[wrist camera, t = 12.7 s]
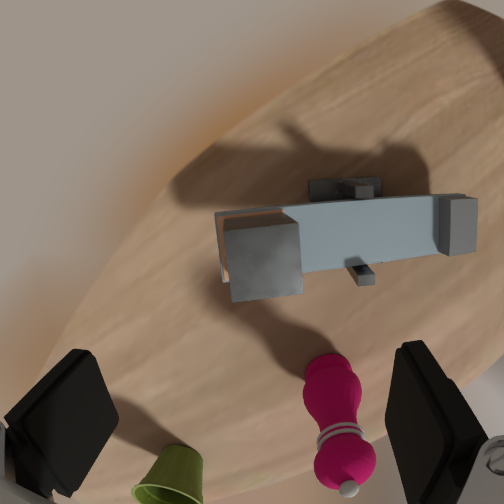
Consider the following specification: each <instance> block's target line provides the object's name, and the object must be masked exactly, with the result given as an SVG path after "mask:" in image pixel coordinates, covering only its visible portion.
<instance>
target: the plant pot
mask: <svg viewBox="0 0 504 504" xmlns="http://www.w3.org/2000/svg"><path fill="white" fill-rule="evenodd" d="M202 470H203V460H202V457H201V456H200V455H199V453H197V452H196V451H195V450H193V449H191V448H186V447H183V446H181V445H169V446H167V447H165V448H164V449H163V451H162V452H161V454H160V455H159V457H158V458H157V460H156V461H155V463H154V465H153V466H152V468H151V469H150V471H149V472H148V474H147V475H146V477H144V478H143V479H142V480H141V482H140V483H139V484H138V485H135V486H134V487H133V488H132V496H133V498H134V499H135V500H136V501H137V502H138V503H139V504H203V496H202Z"/></svg>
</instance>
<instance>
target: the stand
mask: <svg viewBox="0 0 504 504" xmlns="http://www.w3.org/2000/svg"><path fill="white" fill-rule="evenodd" d="M308 184H309V197H310V203H312V202H324V201H336V200H349V199H363V198H377V197H382V184H381V177H360V178H339V179H321V180H308ZM379 263H383V262H379ZM372 264H373V263H372ZM346 268H347V270H348V271H349V273H350V275H351V276H352V278H353V279H354V281H355V282H356V284H357V286H366V285H375V274H374V272H373V271H372V270H371V269H370V268H369V267H368V265H367V264H365V265H358V266H351V267H346Z"/></svg>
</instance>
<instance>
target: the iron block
mask: <svg viewBox="0 0 504 504" xmlns="http://www.w3.org/2000/svg"><path fill="white" fill-rule="evenodd" d="M223 236H224V244H225V252H226V260H227V268H228V276H229V283H230V291H231V298H232V303H234V302H242V301H250V300H258V299H266V298H274V297H282V296H289V295H296V294H303V280H302V263H301V248H300V234H299V223H298V222H297V221H295V220H294V219H292V218H291V217H289V216H288V215H287V214H285V213H284V212H281V213H271V214H262V215H253V216H244V217H235V218H227V219H224V223H223Z"/></svg>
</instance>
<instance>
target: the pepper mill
mask: <svg viewBox="0 0 504 504" xmlns="http://www.w3.org/2000/svg"><path fill="white" fill-rule="evenodd" d="M305 381H306V383H305V386H304V388H303V399H304V404H305V406H306V408H307V410H308V412H309V414H310V415H311V416H312V417H313V418H314V419H315V421H316V422H317V424H318V426H319V428H320V432H321V433H320V434H319V436H318V438H317V445H318V446H317V450H318V453H317V455H316V457H315V460H314V472H315V474H316V477H317V479H318V480H319V481H320V482H321V483H322V484H323V485H324V486H326V487H328V488H331V489H337V490H339V492H340V494H341V495H342V496H343V497H346V498H350V497H353V496H355V495H356V494H357V493H358V491H359V485H361V484H362V483H364V482H365V481H366V480H367V479H368V478H369V477H370V476H371V475H372V473H373V471H374V468H375V465H376V455H375V452H374V449H373V447H372V446H371V444H370V443H368V442H367V441H366V437H365V432H364V430H363V428H362V427H361V426H359V425H358V424H357V418H356V414H357V409H358V407H359V404H360V401H361V395H362V389H361V384H360V381H359V379H358V377H357V376H356V374H355V373H353V371H352V368H351V365H350V363H349V362H348V360H347V359H346V358H344V357H342V356H340V355H336V354H326V355H322V356H320V357H318V358H316V359H314V360H313V361H312V362H311V363H310V364H309V365H308V367H307V369H306V371H305Z"/></svg>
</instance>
